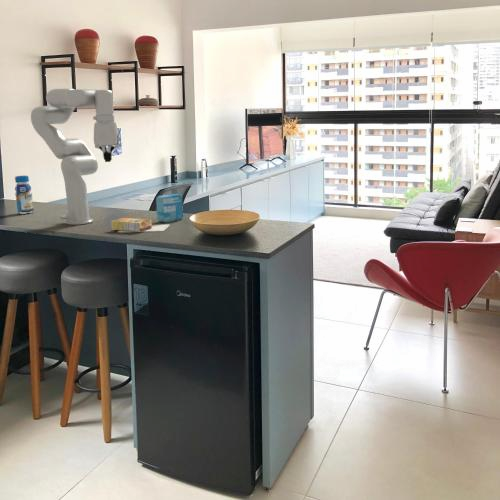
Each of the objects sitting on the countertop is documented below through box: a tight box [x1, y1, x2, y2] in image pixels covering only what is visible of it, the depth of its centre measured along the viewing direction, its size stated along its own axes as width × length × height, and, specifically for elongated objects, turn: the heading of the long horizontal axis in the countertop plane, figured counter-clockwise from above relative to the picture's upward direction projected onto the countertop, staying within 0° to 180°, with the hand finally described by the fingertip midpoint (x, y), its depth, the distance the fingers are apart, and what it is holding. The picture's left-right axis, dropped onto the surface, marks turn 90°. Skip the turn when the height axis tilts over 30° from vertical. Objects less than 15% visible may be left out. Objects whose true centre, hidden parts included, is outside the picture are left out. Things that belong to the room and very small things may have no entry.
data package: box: [155, 193, 184, 223], centre depth 278 cm, size 12×4×12 cm, turn 135°
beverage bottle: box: [14, 175, 35, 213], centre depth 316 cm, size 8×8×20 cm
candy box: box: [110, 217, 153, 233], centre depth 259 cm, size 9×4×15 cm
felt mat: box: [117, 223, 171, 233], centre depth 261 cm, size 20×15×1 cm
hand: (108, 161), depth 261 cm, fingers closed
